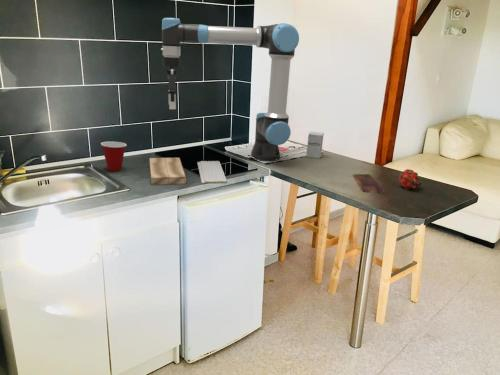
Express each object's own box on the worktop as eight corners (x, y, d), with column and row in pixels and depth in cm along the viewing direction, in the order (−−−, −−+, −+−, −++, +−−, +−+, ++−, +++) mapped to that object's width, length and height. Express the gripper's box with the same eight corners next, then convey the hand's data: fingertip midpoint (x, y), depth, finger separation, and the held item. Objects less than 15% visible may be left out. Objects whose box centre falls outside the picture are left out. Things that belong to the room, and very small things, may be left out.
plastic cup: (131, 170, 189) (130, 144, 185) (108, 174, 183) (106, 147, 179) (122, 164, 197) (120, 139, 193) (98, 168, 191) (96, 141, 187)
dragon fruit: (404, 186, 192) (412, 199, 181) (391, 175, 190) (398, 187, 179) (418, 173, 189) (427, 185, 178) (405, 161, 186) (413, 173, 176)
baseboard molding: (198, 184, 177) (226, 184, 179) (198, 178, 176) (227, 178, 178) (194, 164, 206) (219, 164, 208) (194, 158, 205) (219, 158, 207)
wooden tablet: (351, 171, 201) (372, 170, 200) (351, 176, 202) (372, 175, 201) (362, 190, 176) (386, 189, 175) (362, 195, 177) (386, 194, 176)
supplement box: (305, 157, 226) (308, 133, 222) (307, 154, 233) (310, 131, 229) (319, 158, 225) (322, 135, 220) (321, 155, 231) (323, 132, 227)
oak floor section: (179, 163, 203) (179, 157, 202) (186, 183, 176) (186, 176, 175) (149, 164, 200) (149, 158, 199) (151, 184, 172) (151, 177, 171)
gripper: (162, 55, 193) (163, 102, 200) (162, 57, 170) (163, 111, 177) (179, 55, 195) (179, 102, 202) (181, 58, 172) (182, 111, 178)
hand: (172, 106), depth 189 cm, fingers open, 13 cm apart
